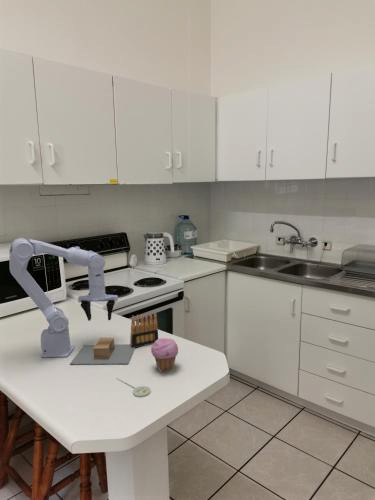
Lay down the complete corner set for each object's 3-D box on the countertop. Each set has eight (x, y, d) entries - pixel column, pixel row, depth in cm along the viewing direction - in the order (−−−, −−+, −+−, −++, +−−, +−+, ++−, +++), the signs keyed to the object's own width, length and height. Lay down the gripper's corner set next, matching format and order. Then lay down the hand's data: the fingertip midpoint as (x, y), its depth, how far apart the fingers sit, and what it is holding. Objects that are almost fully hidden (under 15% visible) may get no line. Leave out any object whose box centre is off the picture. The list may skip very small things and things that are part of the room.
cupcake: (149, 364, 125) (147, 336, 124) (173, 359, 129) (172, 332, 127) (157, 377, 117) (155, 347, 115) (182, 371, 120) (181, 342, 119)
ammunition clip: (131, 347, 138) (131, 316, 136) (130, 345, 139) (129, 315, 137) (158, 342, 143) (158, 312, 141) (156, 340, 144) (156, 310, 142)
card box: (101, 347, 139) (100, 337, 138) (114, 347, 138) (113, 337, 138) (94, 359, 130) (93, 348, 129) (108, 359, 129) (107, 348, 129)
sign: (122, 374, 119) (154, 389, 109) (122, 376, 120) (154, 392, 109) (109, 380, 116) (140, 397, 106) (109, 383, 116) (140, 400, 106)
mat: (69, 364, 127) (69, 363, 127) (84, 345, 142) (84, 344, 142) (128, 364, 126) (128, 363, 126) (136, 345, 141) (136, 344, 141)
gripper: (74, 288, 136) (77, 323, 139) (113, 287, 136) (116, 323, 138) (80, 283, 143) (83, 317, 146) (117, 282, 143) (120, 316, 145)
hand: (99, 319), depth 142 cm, fingers open, 7 cm apart
